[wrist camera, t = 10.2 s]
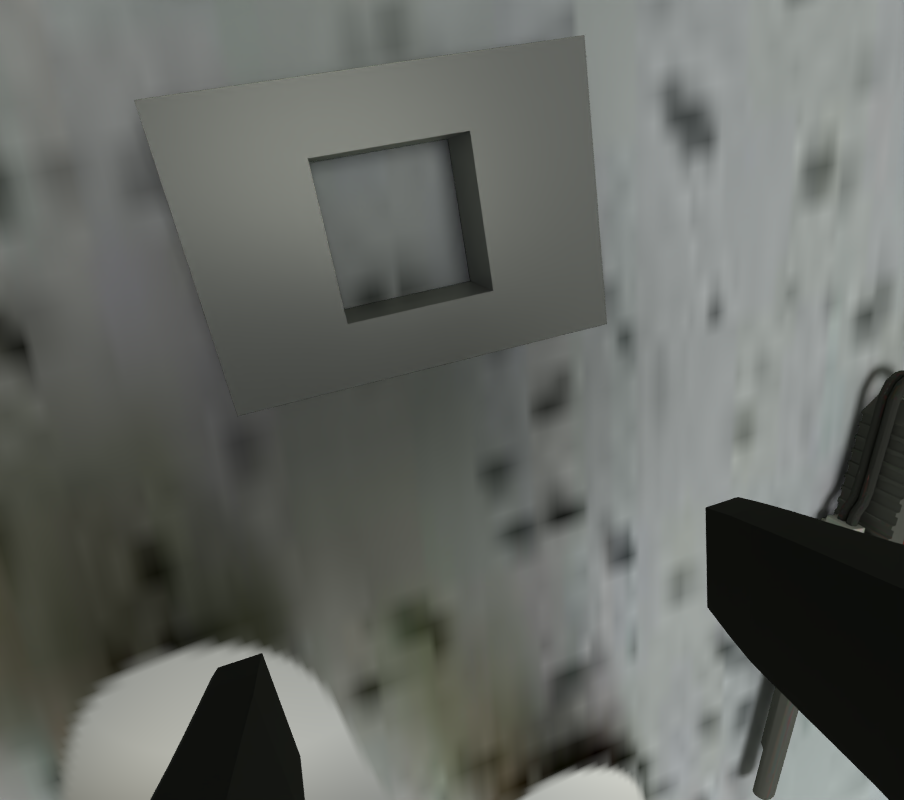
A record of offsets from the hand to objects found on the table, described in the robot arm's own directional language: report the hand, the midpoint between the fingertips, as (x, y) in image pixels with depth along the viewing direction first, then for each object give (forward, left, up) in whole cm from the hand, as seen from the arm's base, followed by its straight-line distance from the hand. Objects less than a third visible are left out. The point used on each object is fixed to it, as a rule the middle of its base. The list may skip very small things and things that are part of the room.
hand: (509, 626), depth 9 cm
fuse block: (+1, +6, -9) cm, 11 cm away
